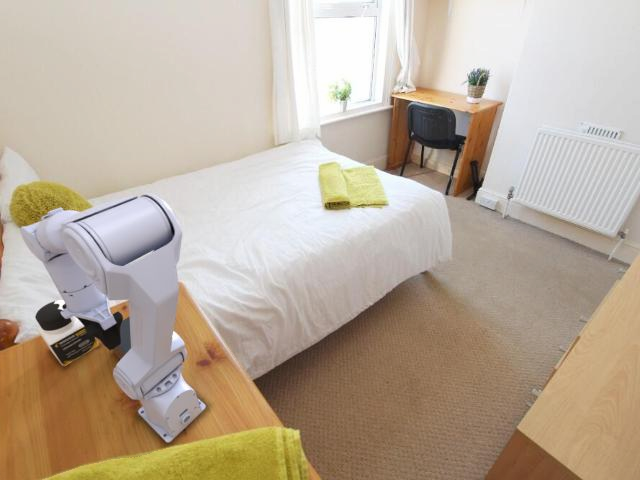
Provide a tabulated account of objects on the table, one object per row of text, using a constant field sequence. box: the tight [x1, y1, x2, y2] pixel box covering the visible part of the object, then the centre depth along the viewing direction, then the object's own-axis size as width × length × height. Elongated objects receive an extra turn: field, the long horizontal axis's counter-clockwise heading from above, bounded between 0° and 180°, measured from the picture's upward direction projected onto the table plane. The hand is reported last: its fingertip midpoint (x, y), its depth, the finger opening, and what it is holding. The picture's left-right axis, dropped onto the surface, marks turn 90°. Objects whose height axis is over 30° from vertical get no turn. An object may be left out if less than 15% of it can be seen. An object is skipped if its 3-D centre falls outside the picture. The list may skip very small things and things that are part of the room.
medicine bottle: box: [35, 299, 100, 367], centre depth 70 cm, size 7×7×12 cm
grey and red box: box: [112, 315, 131, 360], centre depth 70 cm, size 10×7×7 cm, turn 53°
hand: (104, 336), depth 64 cm, fingers open, 7 cm apart
